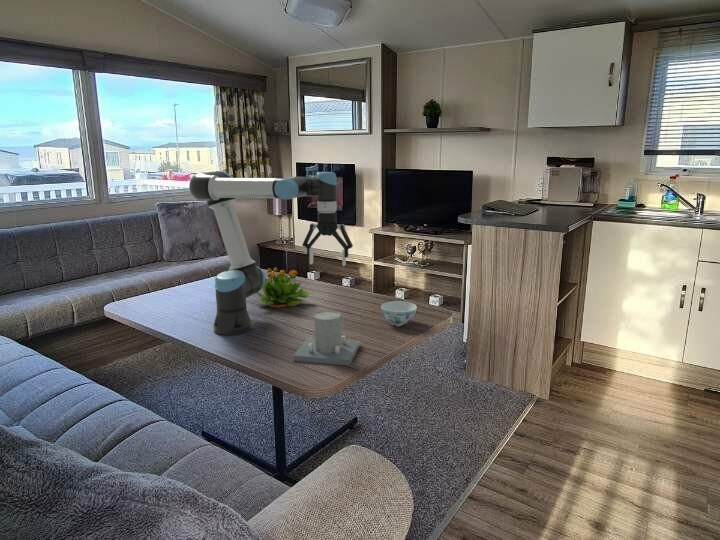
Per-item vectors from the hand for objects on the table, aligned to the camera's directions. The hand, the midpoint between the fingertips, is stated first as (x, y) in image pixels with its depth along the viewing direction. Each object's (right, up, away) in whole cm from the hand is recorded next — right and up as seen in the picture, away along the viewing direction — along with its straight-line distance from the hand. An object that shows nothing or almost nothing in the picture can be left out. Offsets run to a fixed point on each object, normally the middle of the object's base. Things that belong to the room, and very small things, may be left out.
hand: (327, 264), depth 200 cm
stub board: (+1, -32, -21) cm, 39 cm away
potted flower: (-26, -19, +36) cm, 49 cm away
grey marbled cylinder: (+1, -30, -21) cm, 37 cm away
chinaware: (+29, -25, +10) cm, 40 cm away
